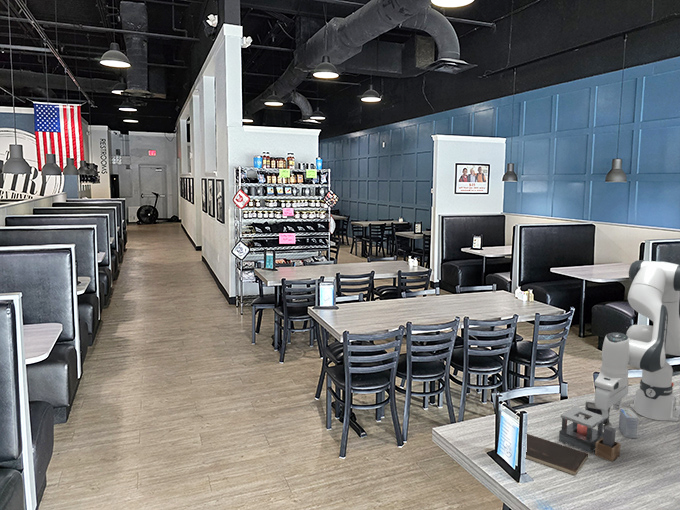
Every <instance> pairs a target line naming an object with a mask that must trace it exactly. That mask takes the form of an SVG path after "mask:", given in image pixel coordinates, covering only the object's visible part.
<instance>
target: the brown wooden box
mask: <svg viewBox="0 0 680 510" xmlns="http://www.w3.org/2000/svg"><path fill="white" fill-rule="evenodd" d="M594 450H595V451H594V456H597V457H600V458H602V459H604V460H607V461H609V462H612V463H613V462H614V461H615V460H617V459H618V458H619V457H620V455H621V443H620V442H618V441H615V444H614V447H613V448H612V447H609V446H606V445H604V444H603V438H601V439H600V440H599V441H597V442H596V448H595V449H594Z"/></svg>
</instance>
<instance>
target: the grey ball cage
mask: <svg viewBox="0 0 680 510" xmlns="http://www.w3.org/2000/svg"><path fill="white" fill-rule="evenodd" d="M580 415H581V416H583V417H584V416H586V417H589V419H588V420H586V419H585V418H582V417H580ZM560 418H561V419H562V420H561V429H560V430H559V431H558V432H559V433H558V441H559V442H562V443H564V444H567V445H570V446H571V447H575V448H577V449H579V450H581V451H583V452H586V453H588V454H589V453H592V452H593V451H594V450H595V448H596V442H597V441H599V440H600V439H601V438H603V433H604V425H603V423H604V420H605V419H606V418H603V417H602V415H599V414H596V413H593V412H590V411H587V410H585V408H582V407H578V406H576V405H574V406H573V407H572V408H570V409H569V410H567V411H565V412H563V413H561V414H560ZM568 421H569V422H571V423H569V424H568ZM577 424H580V425H583V426H586V427H587V436H584V435H581V434H578V433H577ZM595 427H597V429H595Z"/></svg>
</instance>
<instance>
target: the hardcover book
mask: <svg viewBox="0 0 680 510" xmlns="http://www.w3.org/2000/svg"><path fill="white" fill-rule="evenodd" d="M526 434H527V452H526V459H528V460H531V461H534V462H537V463H539V464H542V465H545V466H547V467H550V468H553V469H556V470H560V471H562V472H564V473H568V474H569V475H570V474H571V475H573V476H576V475H577V473H578V471H579V470H581V469H580V468H581V467H582V466H583V465H584V463H585V461H586V460H587V458H589V452H586V451H583V450H580V449H579V450H578V449H575V448H573V447H570V446H566V445H563V444H561V443H558V442H554V441H552V440H551V441H550V440H549V439H548V440H547V439H545V438H542V437H538V436H535V435H533V434H530V433H526Z"/></svg>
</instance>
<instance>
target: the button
mask: <svg viewBox="0 0 680 510" xmlns="http://www.w3.org/2000/svg"><path fill="white" fill-rule="evenodd" d="M577 433H578V434H581V435H584V436H587V427H586V426H583V425H580V424H577Z"/></svg>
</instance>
